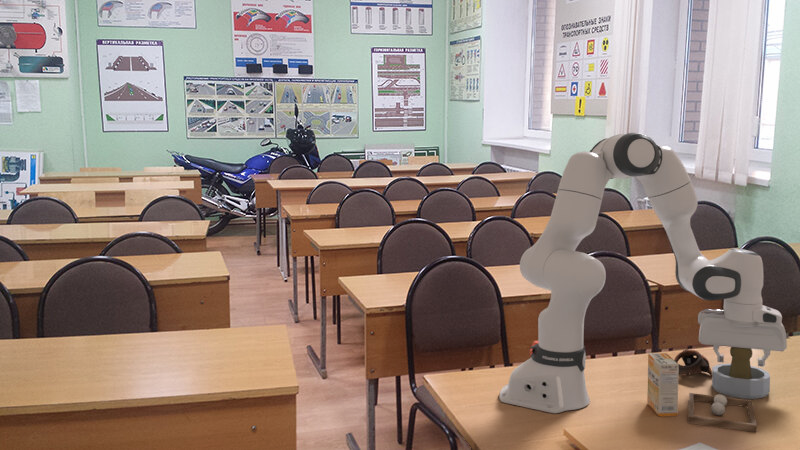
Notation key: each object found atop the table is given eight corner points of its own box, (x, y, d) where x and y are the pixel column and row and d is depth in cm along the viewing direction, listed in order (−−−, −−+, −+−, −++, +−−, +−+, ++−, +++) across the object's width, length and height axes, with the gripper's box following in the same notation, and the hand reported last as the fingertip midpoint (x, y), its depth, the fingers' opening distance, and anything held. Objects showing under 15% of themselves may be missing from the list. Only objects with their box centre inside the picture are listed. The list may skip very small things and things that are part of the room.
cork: (740, 392, 171) (742, 350, 170) (721, 384, 177) (723, 343, 176) (758, 388, 173) (760, 347, 172) (739, 381, 179) (740, 341, 178)
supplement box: (646, 403, 168) (647, 352, 166) (665, 403, 167) (666, 352, 166) (657, 417, 159) (658, 363, 158) (678, 416, 159) (679, 363, 158)
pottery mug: (720, 383, 182) (710, 360, 179) (687, 396, 184) (676, 374, 181) (703, 358, 193) (693, 336, 190) (671, 371, 195) (661, 350, 192)
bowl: (712, 395, 172) (713, 377, 171) (711, 378, 184) (712, 361, 183) (771, 402, 166) (772, 383, 166) (766, 384, 178) (767, 366, 178)
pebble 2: (711, 398, 161) (710, 409, 162) (711, 405, 158) (710, 416, 159) (725, 400, 160) (724, 411, 161) (725, 407, 157) (724, 418, 158)
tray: (688, 422, 155) (688, 416, 155) (689, 398, 170) (689, 392, 170) (756, 431, 150) (756, 425, 150) (751, 405, 164) (751, 400, 164)
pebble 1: (713, 408, 164) (713, 396, 163) (713, 403, 166) (713, 392, 166) (727, 409, 162) (727, 397, 162) (726, 405, 165) (727, 393, 165)
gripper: (698, 311, 174) (696, 362, 175) (789, 317, 166) (786, 372, 167) (698, 305, 180) (696, 355, 181) (786, 311, 171) (783, 364, 173)
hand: (740, 363), depth 174 cm, fingers open, 8 cm apart
